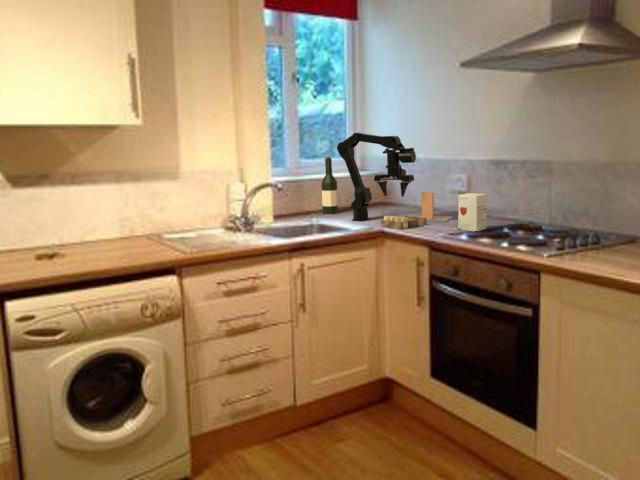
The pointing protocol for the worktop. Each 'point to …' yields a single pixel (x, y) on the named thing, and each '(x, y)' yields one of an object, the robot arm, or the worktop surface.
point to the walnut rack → (399, 225)
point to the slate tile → (438, 218)
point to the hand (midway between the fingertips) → (394, 196)
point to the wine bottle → (329, 190)
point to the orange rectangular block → (428, 205)
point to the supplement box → (472, 212)
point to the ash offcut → (390, 218)
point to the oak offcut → (402, 219)
